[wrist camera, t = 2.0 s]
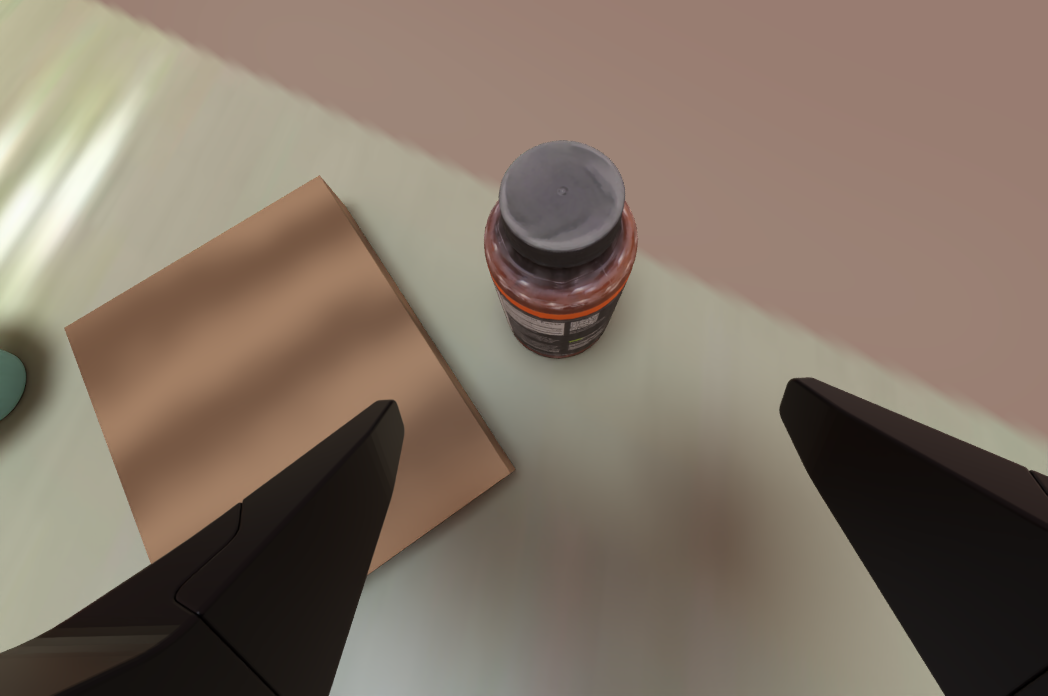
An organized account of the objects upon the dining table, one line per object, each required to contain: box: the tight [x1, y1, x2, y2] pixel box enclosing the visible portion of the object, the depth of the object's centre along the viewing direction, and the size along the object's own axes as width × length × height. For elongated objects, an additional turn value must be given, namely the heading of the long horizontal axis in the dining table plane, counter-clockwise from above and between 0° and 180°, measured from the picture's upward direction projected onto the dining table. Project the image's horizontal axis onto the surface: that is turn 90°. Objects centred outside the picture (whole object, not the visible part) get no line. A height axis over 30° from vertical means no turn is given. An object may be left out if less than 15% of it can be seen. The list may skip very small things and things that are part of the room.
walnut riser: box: [65, 175, 515, 575], centre depth 21 cm, size 20×16×3 cm
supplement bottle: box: [484, 140, 638, 358], centre depth 18 cm, size 6×6×11 cm
